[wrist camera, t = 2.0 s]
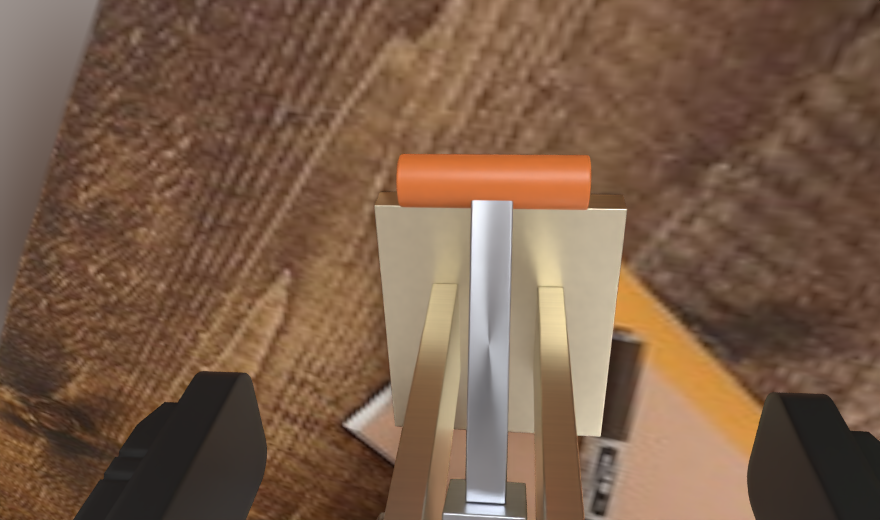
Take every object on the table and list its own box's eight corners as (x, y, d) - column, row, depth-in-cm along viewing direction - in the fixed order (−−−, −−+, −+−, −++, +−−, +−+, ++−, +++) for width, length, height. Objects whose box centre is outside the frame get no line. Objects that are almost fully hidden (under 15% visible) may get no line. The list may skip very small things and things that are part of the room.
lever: (408, 158, 20) (393, 149, 17) (584, 159, 19) (593, 150, 17) (401, 567, 20) (386, 613, 18) (571, 579, 20) (579, 628, 17)
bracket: (379, 190, 26) (275, 442, 15) (623, 194, 25) (700, 466, 14) (398, 408, 32) (333, 705, 21) (598, 417, 31) (638, 734, 20)
